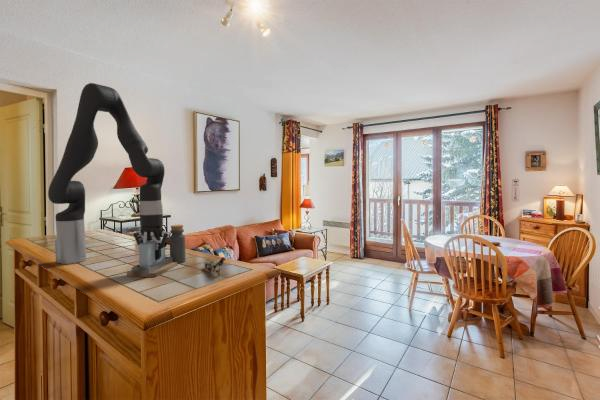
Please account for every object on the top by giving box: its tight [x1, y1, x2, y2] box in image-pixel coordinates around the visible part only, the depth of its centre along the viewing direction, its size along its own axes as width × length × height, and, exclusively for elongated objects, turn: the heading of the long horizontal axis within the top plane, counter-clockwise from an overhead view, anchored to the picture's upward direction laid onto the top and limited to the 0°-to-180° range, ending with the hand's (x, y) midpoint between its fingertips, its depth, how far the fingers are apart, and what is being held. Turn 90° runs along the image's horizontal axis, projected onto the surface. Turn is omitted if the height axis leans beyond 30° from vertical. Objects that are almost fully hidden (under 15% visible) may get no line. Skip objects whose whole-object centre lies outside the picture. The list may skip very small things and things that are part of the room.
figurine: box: [204, 257, 226, 277], centre depth 108 cm, size 6×4×15 cm
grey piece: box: [126, 256, 178, 278], centre depth 111 cm, size 11×15×3 cm
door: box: [138, 238, 166, 267], centre depth 110 cm, size 3×11×8 cm, turn 173°
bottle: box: [169, 224, 187, 265], centre depth 122 cm, size 6×6×15 cm
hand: (153, 258), depth 110 cm, fingers closed on door, 3 cm apart
